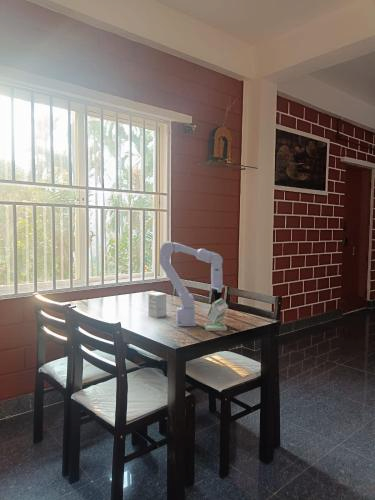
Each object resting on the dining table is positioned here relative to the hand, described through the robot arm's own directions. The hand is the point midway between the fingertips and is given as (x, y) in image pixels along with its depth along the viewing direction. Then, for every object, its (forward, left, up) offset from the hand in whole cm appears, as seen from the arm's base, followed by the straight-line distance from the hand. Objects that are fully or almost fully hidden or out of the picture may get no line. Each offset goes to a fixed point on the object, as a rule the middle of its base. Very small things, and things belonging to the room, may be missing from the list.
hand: (217, 304), depth 187 cm
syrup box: (-1, +3, -8) cm, 9 cm away
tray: (-2, -5, -11) cm, 12 cm away
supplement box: (-30, +20, -11) cm, 38 cm away
